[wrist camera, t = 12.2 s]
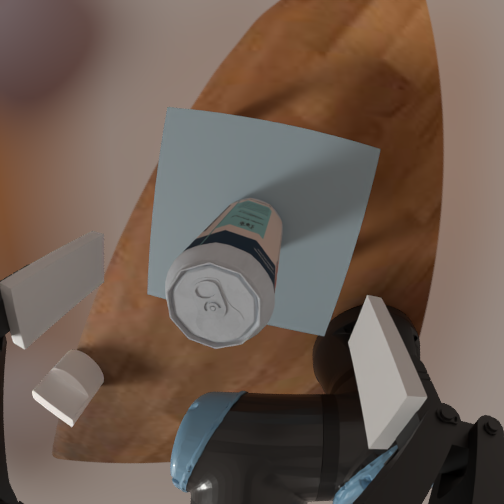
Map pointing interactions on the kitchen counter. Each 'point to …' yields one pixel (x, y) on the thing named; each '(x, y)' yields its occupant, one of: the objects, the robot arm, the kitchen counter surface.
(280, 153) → the pale blue square-topped fixture
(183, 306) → the beer can
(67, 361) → the base with upright slab
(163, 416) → the kitchen counter surface
